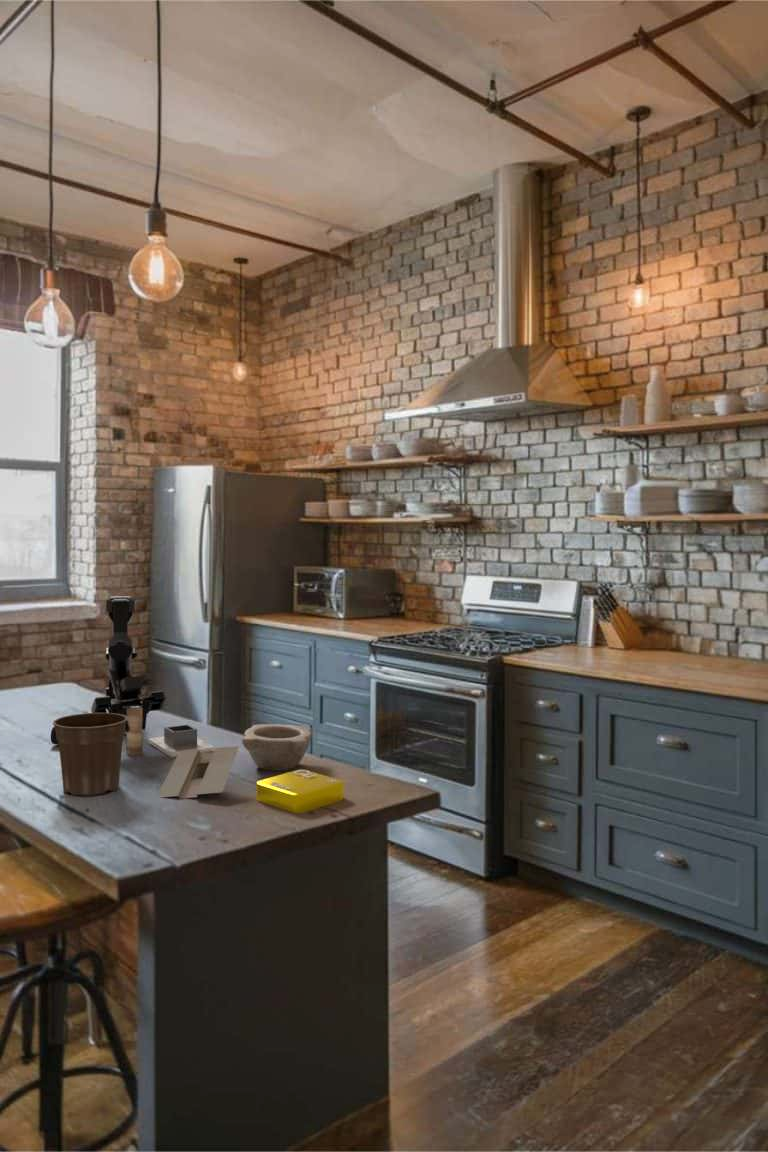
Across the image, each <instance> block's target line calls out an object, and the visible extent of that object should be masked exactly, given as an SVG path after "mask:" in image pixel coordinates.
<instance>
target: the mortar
mask: <svg viewBox="0 0 768 1152" xmlns="http://www.w3.org/2000/svg"><path fill="white" fill-rule="evenodd" d="M312 733H313V729H312V728H311V727H309V726H305V725H293V724H281V723H278V724H277V723H275V724H273V723H266V724H265V723H264V724H263V723H261V724H254V725H251V727H249V728H247V729H246V730H245V731H244V734H243V735H244V737H242V740H241V741H242V745H243V747H244V748H245V749H246V750H247V751H248V753H249V755H250V757H251V760H252V761H253V762H254V764H255V765H256V766H257V767H258V768H260V769H263V770H265V771H273V772H276V771H277V772H279V771H280V772H281V771H287V770H291V769H294V768H295V767H297V766H298V765H299V764H300V763H301V761H302V759H303V758H304V756H305V754H306V752H307V750H308V748H309V746H310V742H311V740H312Z"/></svg>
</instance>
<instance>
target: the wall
mask: <svg viewBox="0 0 768 1152" xmlns="http://www.w3.org/2000/svg"><path fill="white" fill-rule="evenodd" d="M239 747H240V745H239V746H237V745H236V746H226V747H225V746H224V747H215V748H214V752H207V753H200V751H199V749H197V750H185V751H180V752H179V754H178V756H177V757H175V759H174V761H173V763H172V766H171V767H170V769H169V772H168V774H167V776H166V777H165V779H164V782H163V783H162V786H160V789H159V790H158V793H157V794H156V796H155V797H156V798H159V799H160V798H170V797H178V798H179V799H189V798H190V799H192V798H197V797H198V796H199V795H205V794H218V793H223V792H224V789H225V786H226V784H227V781H228V779H229V775H230V773H231V770H232V767H233V764H234V761H235V758H236V756H237V753H238V750H239V749H240V748H239Z"/></svg>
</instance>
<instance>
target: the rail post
mask: <svg viewBox="0 0 768 1152" xmlns="http://www.w3.org/2000/svg"><path fill="white" fill-rule="evenodd" d="M127 717H128V720H127V723H128V726H129V732H126V734H127V736H126V755H127V756H131V757H132V756H139V755H143V729H142V708H140V707H138V706H135V707H131V708H127Z"/></svg>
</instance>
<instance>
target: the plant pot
mask: <svg viewBox="0 0 768 1152" xmlns="http://www.w3.org/2000/svg"><path fill="white" fill-rule="evenodd" d="M127 720H128V717H127V716H125V715H122V714H116V713H108V712H107V713H92V712H88V713H77V714H69V715H66V716H61V717H59V718H56V719H55V720H53V721H52V724H53V727H54V726H55V729H56V738H57V740H58V743H59V745H58V750H59V751H58V752H59V758H60V767H61V778H62V789H63V792H64V793H65V794H70V795H73V796H79V797H80V796H81V797H90V796H91V797H92V796H97V795H103V794H105V793H106V792H113V791H115V790H117V789H118V788H119V786H120V779H121V778H120V776H121V765H122V764H121V763H122V752H123V751H122V750H123V741H124V737H125V736H124V735H125V734H126V731H125V724H126V721H127Z"/></svg>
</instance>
